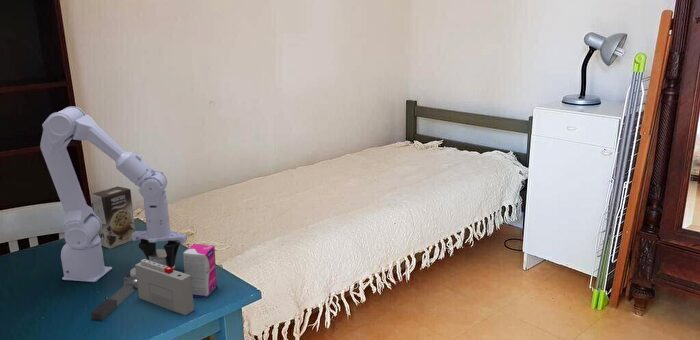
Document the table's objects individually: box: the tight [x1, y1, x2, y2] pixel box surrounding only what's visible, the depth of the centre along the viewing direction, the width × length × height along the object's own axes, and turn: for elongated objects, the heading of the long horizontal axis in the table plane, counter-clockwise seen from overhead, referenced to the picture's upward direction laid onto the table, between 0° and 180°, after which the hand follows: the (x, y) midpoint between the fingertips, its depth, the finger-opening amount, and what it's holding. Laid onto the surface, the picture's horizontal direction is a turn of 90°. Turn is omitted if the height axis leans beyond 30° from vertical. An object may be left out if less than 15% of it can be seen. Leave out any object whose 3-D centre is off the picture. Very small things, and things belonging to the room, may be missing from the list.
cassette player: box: [134, 258, 195, 316], centre depth 128 cm, size 16×3×10 cm, turn 60°
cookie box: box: [91, 186, 136, 250], centre depth 162 cm, size 9×6×16 cm
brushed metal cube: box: [149, 248, 176, 270], centre depth 145 cm, size 5×5×5 cm
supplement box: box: [182, 243, 218, 299], centre depth 133 cm, size 6×6×12 cm
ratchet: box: [90, 267, 138, 322], centre depth 132 cm, size 20×6×4 cm, turn 171°
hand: (162, 265), depth 145 cm, fingers open, 5 cm apart
